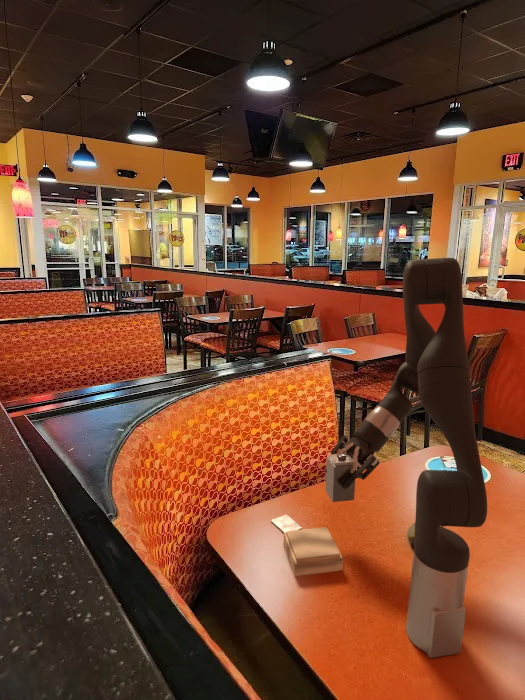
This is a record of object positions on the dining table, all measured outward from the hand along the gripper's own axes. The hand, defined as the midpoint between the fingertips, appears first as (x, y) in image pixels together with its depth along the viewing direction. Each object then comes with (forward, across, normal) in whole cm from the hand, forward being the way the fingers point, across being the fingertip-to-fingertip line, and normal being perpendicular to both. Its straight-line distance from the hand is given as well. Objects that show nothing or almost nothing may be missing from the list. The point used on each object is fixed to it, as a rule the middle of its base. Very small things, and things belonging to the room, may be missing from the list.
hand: (334, 480), depth 112 cm
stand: (+17, +6, +4) cm, 18 cm away
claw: (-6, +9, +28) cm, 31 cm away
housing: (+2, 0, +4) cm, 5 cm away
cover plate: (+17, -8, +4) cm, 20 cm away
